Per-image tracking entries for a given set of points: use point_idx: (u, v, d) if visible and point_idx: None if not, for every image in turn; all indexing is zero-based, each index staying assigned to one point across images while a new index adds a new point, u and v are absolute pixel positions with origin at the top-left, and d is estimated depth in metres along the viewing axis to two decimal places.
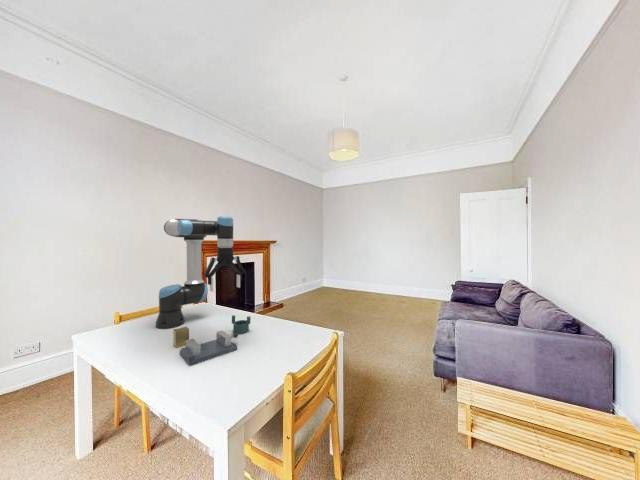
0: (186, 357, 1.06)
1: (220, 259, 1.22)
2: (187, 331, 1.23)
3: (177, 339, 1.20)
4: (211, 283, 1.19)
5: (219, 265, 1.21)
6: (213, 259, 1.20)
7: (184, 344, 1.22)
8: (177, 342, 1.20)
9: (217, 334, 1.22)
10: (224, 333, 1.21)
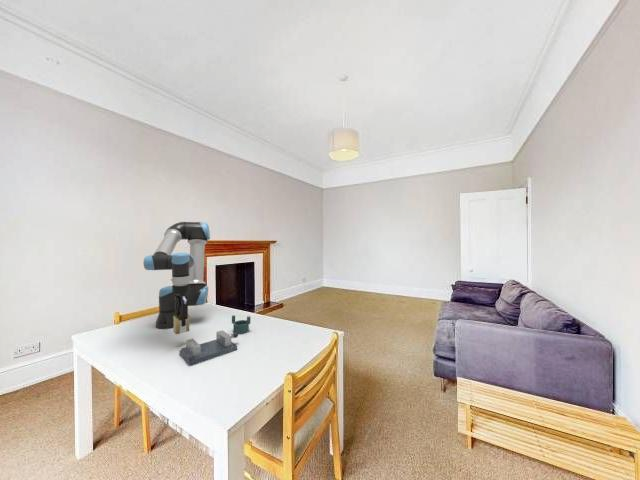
0: (186, 357, 1.06)
1: (177, 295, 1.24)
2: None
3: (177, 325, 1.20)
4: None
5: (176, 303, 1.23)
6: (174, 296, 1.26)
7: None
8: (177, 328, 1.20)
9: (217, 334, 1.22)
10: (224, 333, 1.21)
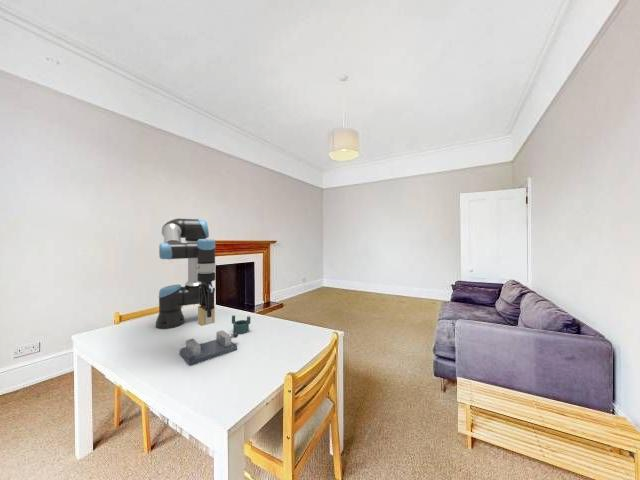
0: (186, 357, 1.06)
1: (201, 284, 1.15)
2: None
3: (202, 316, 1.11)
4: None
5: (200, 292, 1.15)
6: (199, 286, 1.18)
7: None
8: (202, 319, 1.11)
9: (217, 334, 1.22)
10: (224, 333, 1.21)
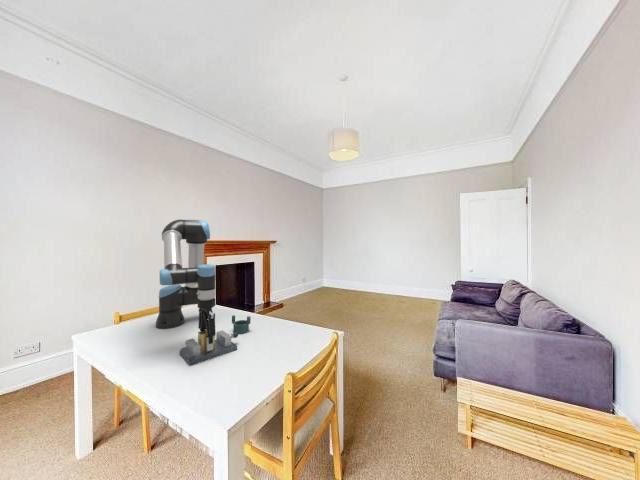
0: (186, 357, 1.06)
1: (201, 310, 1.16)
2: None
3: (203, 342, 1.12)
4: None
5: (200, 318, 1.15)
6: (199, 310, 1.18)
7: None
8: (203, 345, 1.12)
9: (217, 334, 1.22)
10: (224, 333, 1.21)
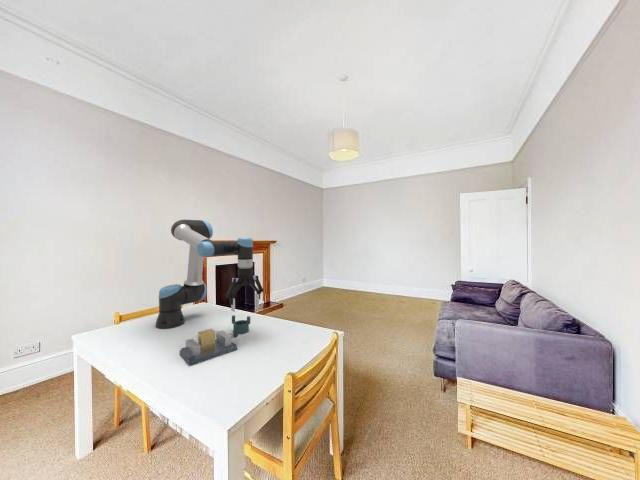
0: (186, 357, 1.06)
1: (241, 279, 1.25)
2: (212, 333, 1.15)
3: (203, 342, 1.12)
4: (233, 303, 1.22)
5: (240, 285, 1.24)
6: (234, 280, 1.23)
7: (210, 347, 1.14)
8: (203, 345, 1.12)
9: (217, 334, 1.22)
10: (224, 333, 1.21)
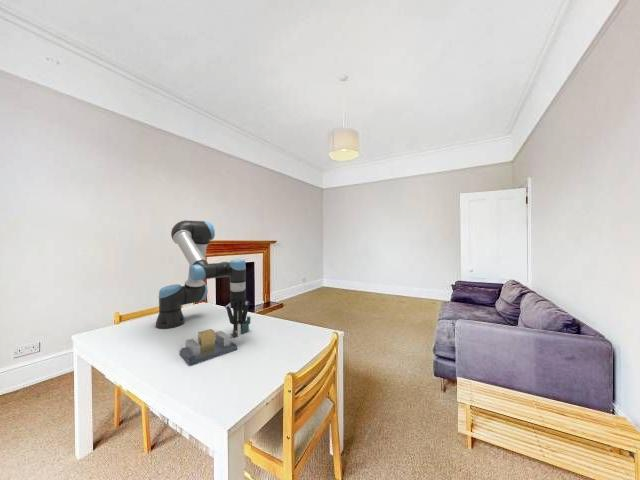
0: (186, 357, 1.06)
1: (233, 302, 1.23)
2: (212, 333, 1.15)
3: (203, 342, 1.12)
4: (237, 329, 1.24)
5: (236, 310, 1.23)
6: (228, 308, 1.21)
7: (210, 347, 1.14)
8: (203, 345, 1.12)
9: (216, 334, 1.22)
10: (223, 333, 1.21)
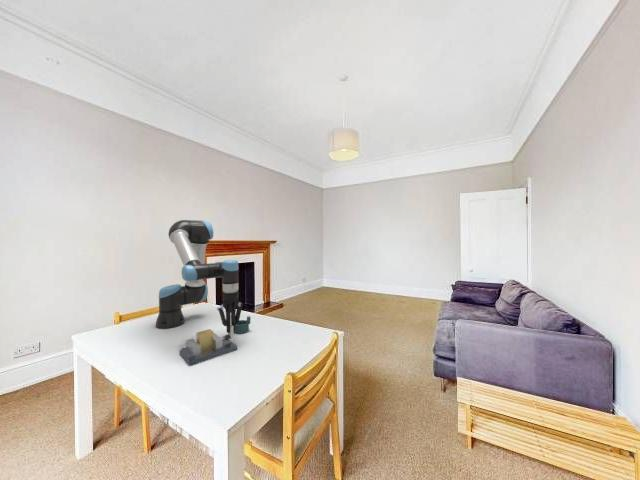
0: (186, 357, 1.06)
1: (226, 304, 1.20)
2: (211, 334, 1.14)
3: (201, 343, 1.11)
4: (230, 331, 1.22)
5: (229, 312, 1.20)
6: (220, 309, 1.18)
7: (208, 348, 1.13)
8: (201, 346, 1.11)
9: None
10: (215, 336, 1.18)
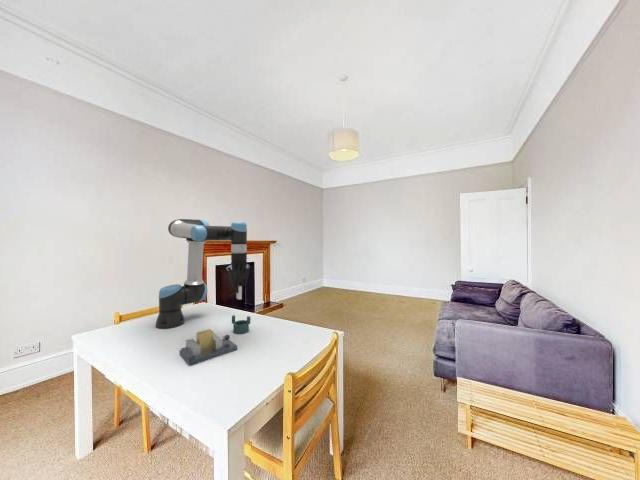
0: (186, 357, 1.06)
1: (234, 264, 1.23)
2: (211, 334, 1.14)
3: (201, 343, 1.11)
4: (238, 291, 1.24)
5: (237, 272, 1.23)
6: (229, 269, 1.21)
7: (208, 348, 1.13)
8: (201, 346, 1.11)
9: None
10: (215, 336, 1.18)
